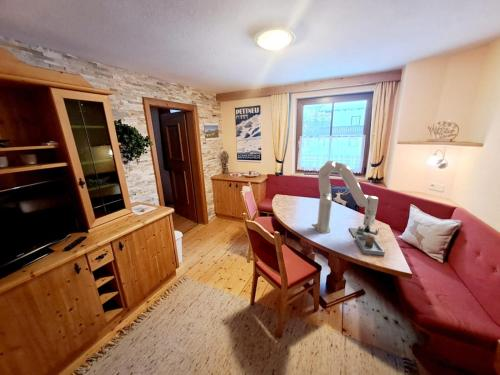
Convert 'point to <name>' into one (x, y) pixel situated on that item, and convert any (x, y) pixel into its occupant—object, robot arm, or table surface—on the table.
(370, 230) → the crank
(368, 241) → the block
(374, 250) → the tray
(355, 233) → the crank base
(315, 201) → the table surface
